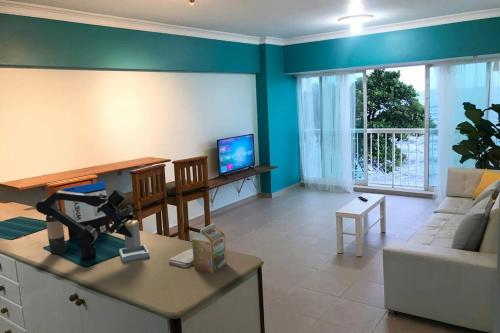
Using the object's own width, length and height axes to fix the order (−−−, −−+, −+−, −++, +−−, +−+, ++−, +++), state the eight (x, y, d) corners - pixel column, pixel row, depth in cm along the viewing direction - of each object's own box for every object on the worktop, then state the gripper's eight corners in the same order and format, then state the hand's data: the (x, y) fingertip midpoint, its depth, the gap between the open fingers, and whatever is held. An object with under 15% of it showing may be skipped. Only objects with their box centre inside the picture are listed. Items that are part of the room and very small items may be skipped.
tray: (123, 262, 198) (122, 257, 197) (119, 253, 209) (119, 249, 209) (149, 257, 203) (149, 252, 202) (145, 249, 214) (144, 244, 214)
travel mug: (69, 250, 218) (65, 213, 215) (57, 255, 211) (52, 217, 208) (59, 249, 221) (54, 212, 218) (47, 254, 214) (41, 216, 211)
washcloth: (167, 265, 193) (166, 258, 193) (191, 252, 208) (191, 246, 208) (186, 269, 187) (186, 263, 186) (210, 255, 202) (210, 249, 201)
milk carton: (212, 272, 181) (209, 231, 178) (194, 268, 186) (191, 228, 183) (226, 264, 190) (224, 224, 187) (208, 260, 195) (205, 221, 192)
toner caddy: (125, 249, 203) (123, 222, 201) (131, 245, 209) (129, 219, 206) (135, 249, 202) (132, 222, 200) (140, 245, 208) (138, 219, 205)
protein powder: (113, 230, 248) (108, 182, 243) (72, 241, 232) (65, 189, 227) (107, 227, 255) (101, 180, 250) (66, 237, 239) (59, 187, 234)
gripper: (112, 206, 193) (135, 229, 193) (130, 197, 211) (152, 218, 211) (98, 222, 196) (121, 245, 196) (117, 211, 214) (139, 232, 214)
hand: (134, 234), depth 204 cm, fingers closed on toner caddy, 6 cm apart
